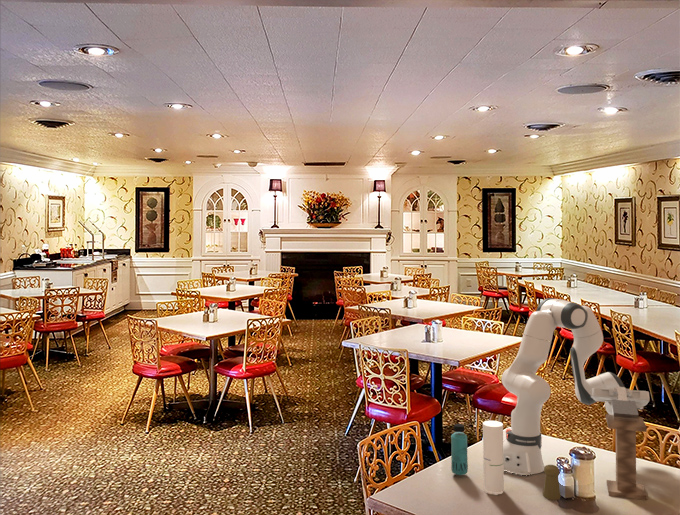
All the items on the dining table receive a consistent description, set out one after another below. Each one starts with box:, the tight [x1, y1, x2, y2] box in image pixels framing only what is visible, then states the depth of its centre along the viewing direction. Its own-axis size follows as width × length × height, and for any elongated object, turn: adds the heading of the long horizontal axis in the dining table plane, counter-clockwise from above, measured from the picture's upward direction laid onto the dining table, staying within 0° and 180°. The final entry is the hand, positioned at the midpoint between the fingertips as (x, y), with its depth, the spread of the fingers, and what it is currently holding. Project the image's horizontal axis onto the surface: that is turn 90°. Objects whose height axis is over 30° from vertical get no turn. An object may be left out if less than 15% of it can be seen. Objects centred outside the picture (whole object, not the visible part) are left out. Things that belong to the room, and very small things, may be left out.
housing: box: [612, 386, 640, 422], centre depth 212 cm, size 8×18×3 cm, turn 159°
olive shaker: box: [542, 464, 562, 501], centre depth 203 cm, size 6×6×11 cm
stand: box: [605, 413, 648, 501], centre depth 205 cm, size 12×12×26 cm
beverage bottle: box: [450, 423, 469, 476], centre depth 223 cm, size 6×7×20 cm
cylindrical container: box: [482, 420, 505, 492], centre depth 208 cm, size 7×7×25 cm
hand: (621, 390), depth 217 cm, fingers closed on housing, 3 cm apart
